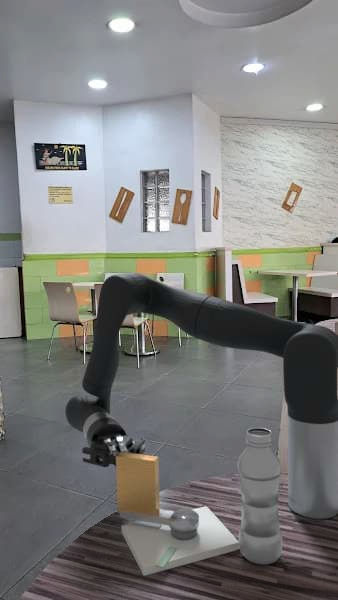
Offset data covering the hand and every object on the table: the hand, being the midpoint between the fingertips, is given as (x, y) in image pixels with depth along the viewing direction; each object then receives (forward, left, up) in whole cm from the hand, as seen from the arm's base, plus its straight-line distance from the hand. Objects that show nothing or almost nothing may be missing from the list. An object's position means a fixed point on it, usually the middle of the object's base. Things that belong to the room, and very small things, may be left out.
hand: (127, 467), depth 83 cm
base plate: (-6, +9, -10) cm, 14 cm away
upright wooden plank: (-4, +6, -7) cm, 10 cm away
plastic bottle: (-16, +18, -10) cm, 26 cm away
